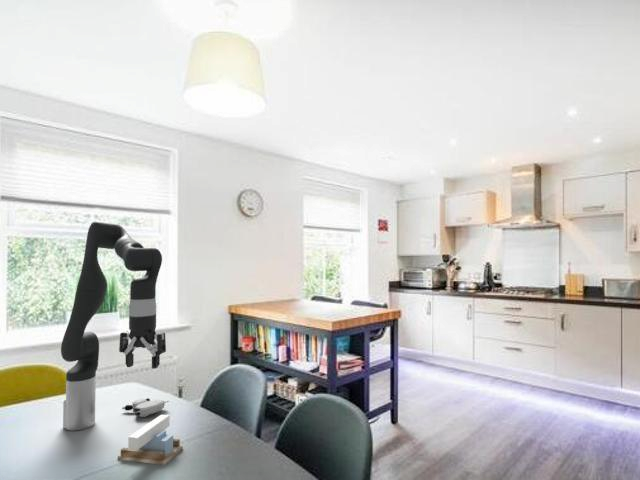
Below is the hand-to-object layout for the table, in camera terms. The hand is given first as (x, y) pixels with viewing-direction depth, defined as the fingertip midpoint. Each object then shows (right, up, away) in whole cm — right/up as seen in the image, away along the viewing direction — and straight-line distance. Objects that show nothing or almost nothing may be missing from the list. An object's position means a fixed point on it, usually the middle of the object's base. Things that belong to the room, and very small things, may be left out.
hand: (142, 367), depth 118 cm
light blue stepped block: (+1, -27, +3) cm, 27 cm away
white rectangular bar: (+1, -23, +3) cm, 23 cm away
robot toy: (-15, -30, +35) cm, 49 cm away
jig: (+1, -28, +4) cm, 28 cm away
